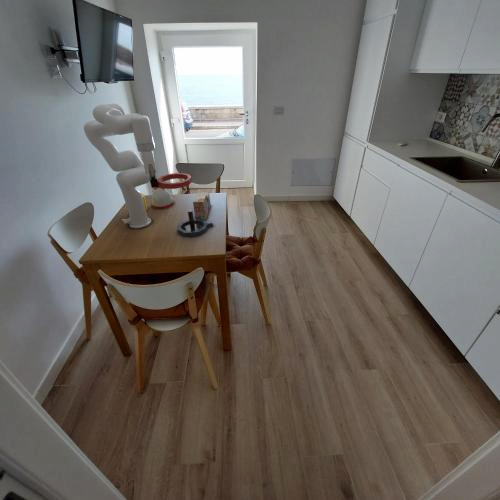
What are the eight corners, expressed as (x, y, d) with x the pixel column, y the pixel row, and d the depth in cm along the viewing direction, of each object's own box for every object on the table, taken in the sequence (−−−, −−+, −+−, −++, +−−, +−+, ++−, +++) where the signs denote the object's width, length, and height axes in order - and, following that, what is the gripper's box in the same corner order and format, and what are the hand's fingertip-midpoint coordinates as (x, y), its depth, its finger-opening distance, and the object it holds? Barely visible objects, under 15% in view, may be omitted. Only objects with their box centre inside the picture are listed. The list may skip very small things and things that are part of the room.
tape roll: (148, 206, 182) (145, 192, 177) (146, 212, 174) (142, 198, 168) (133, 207, 181) (129, 194, 175) (130, 214, 172) (126, 200, 167)
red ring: (152, 192, 125) (151, 187, 123) (150, 181, 137) (148, 176, 136) (194, 185, 130) (193, 180, 129) (188, 175, 143) (187, 171, 141)
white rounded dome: (170, 208, 177) (165, 186, 169) (149, 208, 178) (143, 187, 170) (175, 200, 189) (171, 179, 181) (156, 200, 190) (151, 179, 181)
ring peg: (187, 234, 150) (183, 215, 143) (184, 227, 156) (181, 209, 150) (201, 231, 152) (198, 212, 146) (198, 225, 158) (196, 206, 152)
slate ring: (209, 219, 163) (209, 216, 162) (215, 232, 151) (215, 228, 150) (177, 225, 158) (176, 222, 157) (180, 238, 146) (180, 235, 144)
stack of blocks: (201, 205, 181) (199, 187, 174) (210, 205, 181) (208, 187, 174) (195, 220, 163) (192, 201, 156) (205, 220, 163) (203, 201, 156)
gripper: (136, 143, 126) (145, 182, 136) (137, 151, 114) (148, 193, 124) (152, 142, 128) (160, 179, 139) (156, 149, 116) (164, 190, 126)
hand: (154, 185), depth 131 cm, fingers closed on red ring, 2 cm apart
